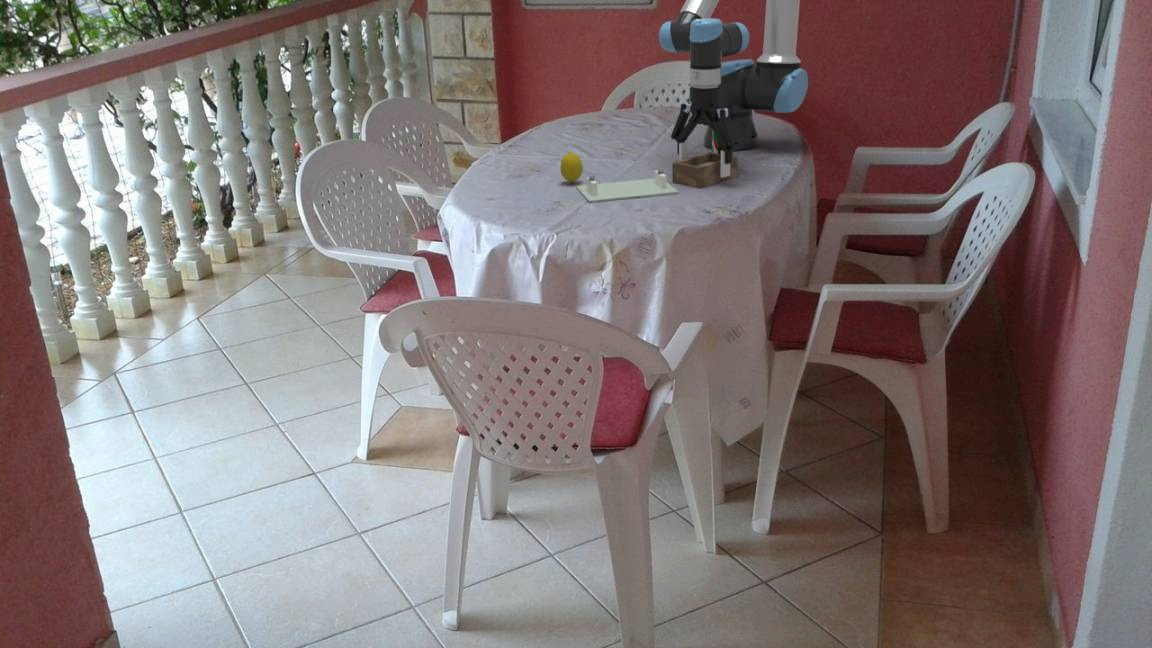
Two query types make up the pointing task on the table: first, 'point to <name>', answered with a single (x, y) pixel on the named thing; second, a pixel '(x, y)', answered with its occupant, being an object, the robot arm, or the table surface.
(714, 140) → the soda can
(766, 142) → the table surface
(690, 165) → the brown wooden open box
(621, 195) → the wall board
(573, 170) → the lemon
